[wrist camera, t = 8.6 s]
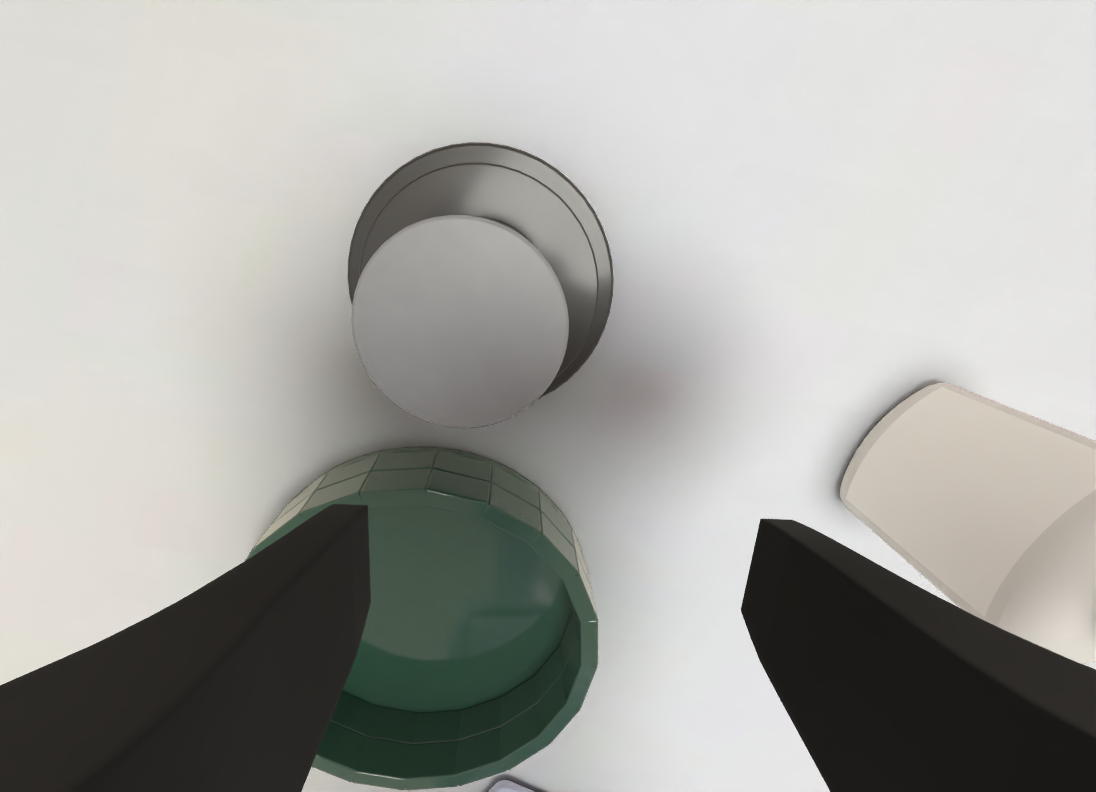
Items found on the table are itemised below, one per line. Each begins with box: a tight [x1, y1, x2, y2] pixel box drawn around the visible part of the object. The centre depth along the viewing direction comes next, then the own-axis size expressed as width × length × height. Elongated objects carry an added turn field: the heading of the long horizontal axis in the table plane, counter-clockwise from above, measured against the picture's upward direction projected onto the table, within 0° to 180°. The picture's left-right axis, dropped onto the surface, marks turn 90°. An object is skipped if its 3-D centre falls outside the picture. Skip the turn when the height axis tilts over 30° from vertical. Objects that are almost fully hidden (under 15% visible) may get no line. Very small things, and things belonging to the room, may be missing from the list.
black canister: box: [352, 215, 569, 428], centre depth 13 cm, size 4×4×6 cm
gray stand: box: [348, 143, 613, 399], centre depth 17 cm, size 8×8×2 cm
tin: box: [245, 447, 598, 790], centre depth 20 cm, size 12×12×3 cm
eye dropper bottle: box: [840, 383, 1096, 664], centre depth 15 cm, size 4×6×12 cm
